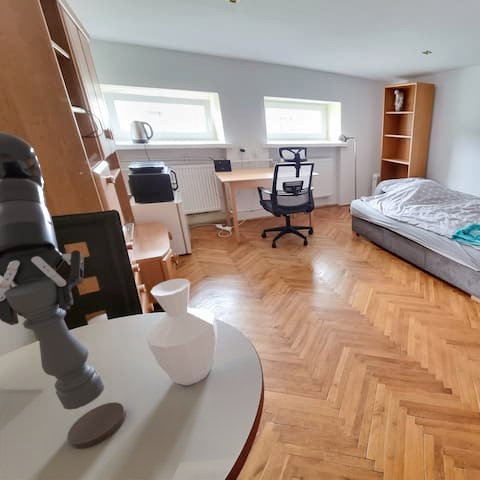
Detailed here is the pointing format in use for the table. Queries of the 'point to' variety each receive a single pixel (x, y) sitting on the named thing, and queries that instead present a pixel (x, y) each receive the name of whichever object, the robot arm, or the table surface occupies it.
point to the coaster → (96, 425)
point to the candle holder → (56, 342)
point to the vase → (182, 334)
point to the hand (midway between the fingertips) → (39, 315)
